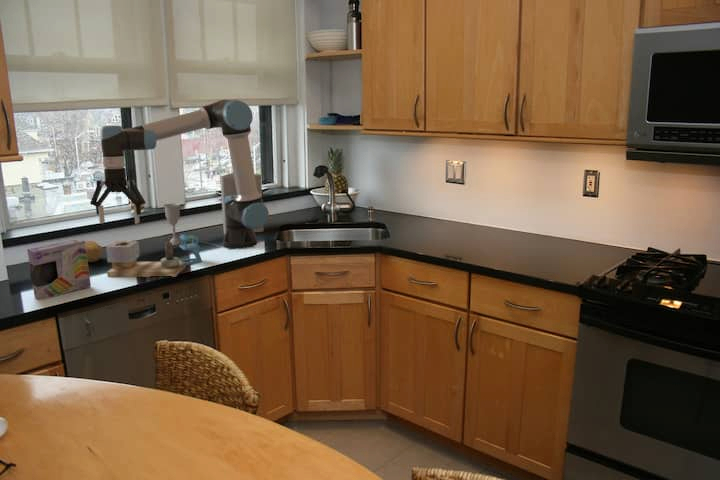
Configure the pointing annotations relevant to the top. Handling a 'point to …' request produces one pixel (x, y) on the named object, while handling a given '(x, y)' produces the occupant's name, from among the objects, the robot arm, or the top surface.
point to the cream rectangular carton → (235, 193)
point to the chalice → (172, 219)
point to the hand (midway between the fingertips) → (119, 223)
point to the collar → (123, 251)
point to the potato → (93, 251)
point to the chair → (190, 248)
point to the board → (148, 266)
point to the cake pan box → (59, 268)
